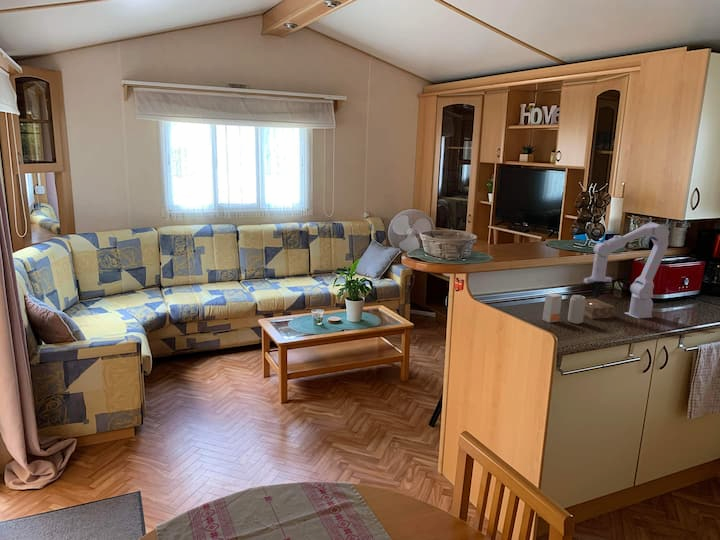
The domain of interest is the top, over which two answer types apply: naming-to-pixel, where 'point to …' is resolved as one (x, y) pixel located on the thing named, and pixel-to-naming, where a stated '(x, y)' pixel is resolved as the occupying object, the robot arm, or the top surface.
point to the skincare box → (552, 308)
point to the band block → (598, 309)
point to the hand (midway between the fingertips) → (595, 297)
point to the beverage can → (576, 309)
